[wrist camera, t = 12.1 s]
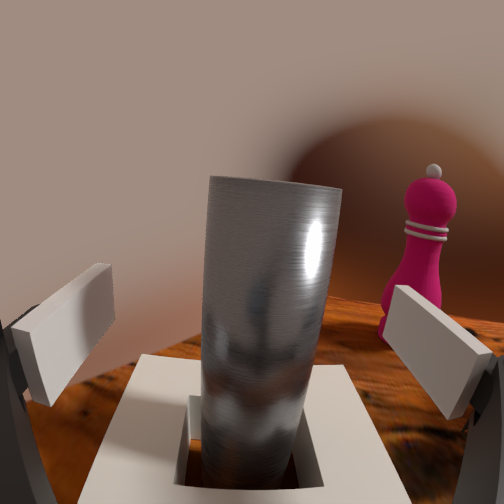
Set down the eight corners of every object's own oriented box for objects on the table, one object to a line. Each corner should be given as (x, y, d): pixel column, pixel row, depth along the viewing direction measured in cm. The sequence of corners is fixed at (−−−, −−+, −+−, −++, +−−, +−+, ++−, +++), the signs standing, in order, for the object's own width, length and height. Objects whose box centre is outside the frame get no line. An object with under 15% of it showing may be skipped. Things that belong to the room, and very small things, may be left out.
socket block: (331, 406, 22) (343, 364, 21) (387, 561, 8) (424, 530, 7) (146, 397, 21) (142, 353, 20) (95, 559, 7) (67, 530, 6)
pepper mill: (361, 333, 34) (391, 155, 29) (392, 319, 38) (420, 165, 33) (411, 360, 28) (453, 162, 23) (437, 340, 32) (473, 173, 27)
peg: (276, 454, 17) (322, 186, 13) (284, 510, 12) (363, 193, 9) (204, 451, 16) (214, 175, 13) (199, 509, 12) (203, 176, 8)
